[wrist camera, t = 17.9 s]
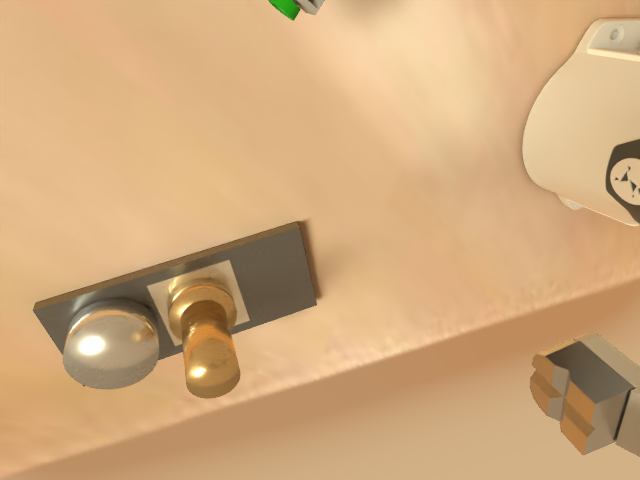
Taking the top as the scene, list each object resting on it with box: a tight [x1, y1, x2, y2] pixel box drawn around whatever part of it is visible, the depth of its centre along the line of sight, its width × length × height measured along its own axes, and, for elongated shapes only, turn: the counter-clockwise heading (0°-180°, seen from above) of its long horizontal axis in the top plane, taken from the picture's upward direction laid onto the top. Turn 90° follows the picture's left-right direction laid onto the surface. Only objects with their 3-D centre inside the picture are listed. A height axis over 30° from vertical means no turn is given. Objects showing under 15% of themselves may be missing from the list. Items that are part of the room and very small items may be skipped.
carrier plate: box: [33, 222, 317, 389], centre depth 40 cm, size 22×9×4 cm, turn 100°
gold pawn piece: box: [168, 278, 240, 398], centre depth 37 cm, size 6×6×9 cm
